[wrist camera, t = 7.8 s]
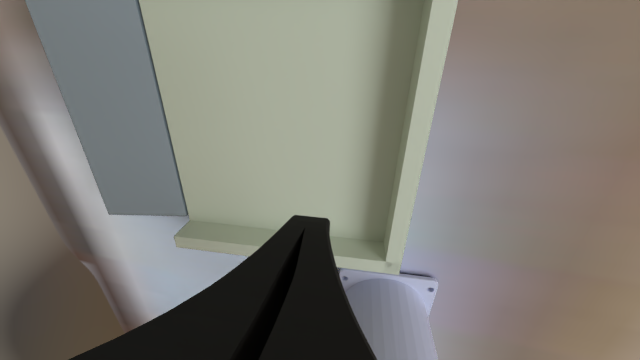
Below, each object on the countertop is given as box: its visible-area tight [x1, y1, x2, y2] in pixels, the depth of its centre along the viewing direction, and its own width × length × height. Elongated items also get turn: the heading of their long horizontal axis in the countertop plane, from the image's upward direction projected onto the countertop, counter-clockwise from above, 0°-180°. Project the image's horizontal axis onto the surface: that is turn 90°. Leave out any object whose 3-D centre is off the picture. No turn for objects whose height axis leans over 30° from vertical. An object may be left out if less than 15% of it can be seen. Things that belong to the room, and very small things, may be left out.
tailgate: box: [25, 0, 188, 216], centre depth 18 cm, size 15×2×6 cm
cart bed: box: [139, 0, 458, 275], centre depth 16 cm, size 18×16×4 cm
